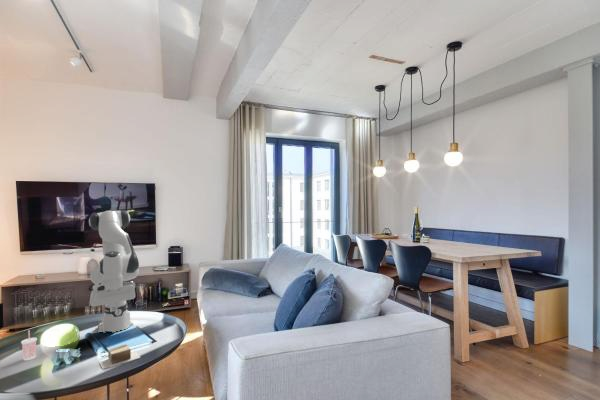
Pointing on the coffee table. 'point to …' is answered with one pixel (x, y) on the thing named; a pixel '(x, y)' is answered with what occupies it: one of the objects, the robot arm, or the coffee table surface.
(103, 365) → the pad
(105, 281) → the robot arm
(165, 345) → the coffee table surface
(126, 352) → the block
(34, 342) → the beverage cup
